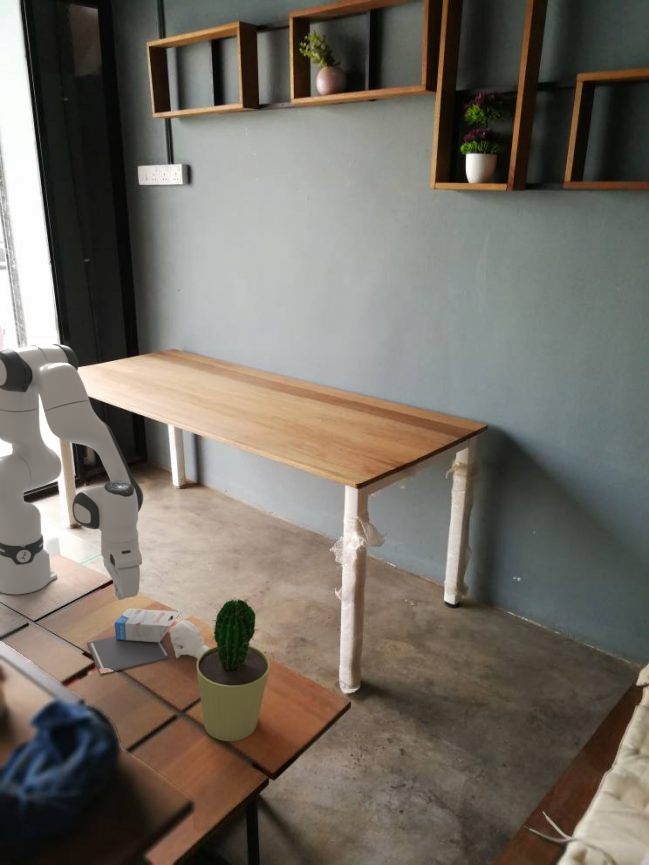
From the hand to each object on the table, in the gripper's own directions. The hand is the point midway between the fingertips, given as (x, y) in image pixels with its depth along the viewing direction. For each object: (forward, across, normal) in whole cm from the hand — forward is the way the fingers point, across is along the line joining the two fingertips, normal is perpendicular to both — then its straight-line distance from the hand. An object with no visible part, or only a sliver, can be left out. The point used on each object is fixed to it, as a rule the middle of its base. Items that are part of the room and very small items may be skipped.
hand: (120, 597), depth 174 cm
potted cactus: (+12, +42, +13) cm, 45 cm away
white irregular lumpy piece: (+12, +16, +14) cm, 24 cm away
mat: (+11, +7, 0) cm, 13 cm away
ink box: (+9, -2, +1) cm, 9 cm away
